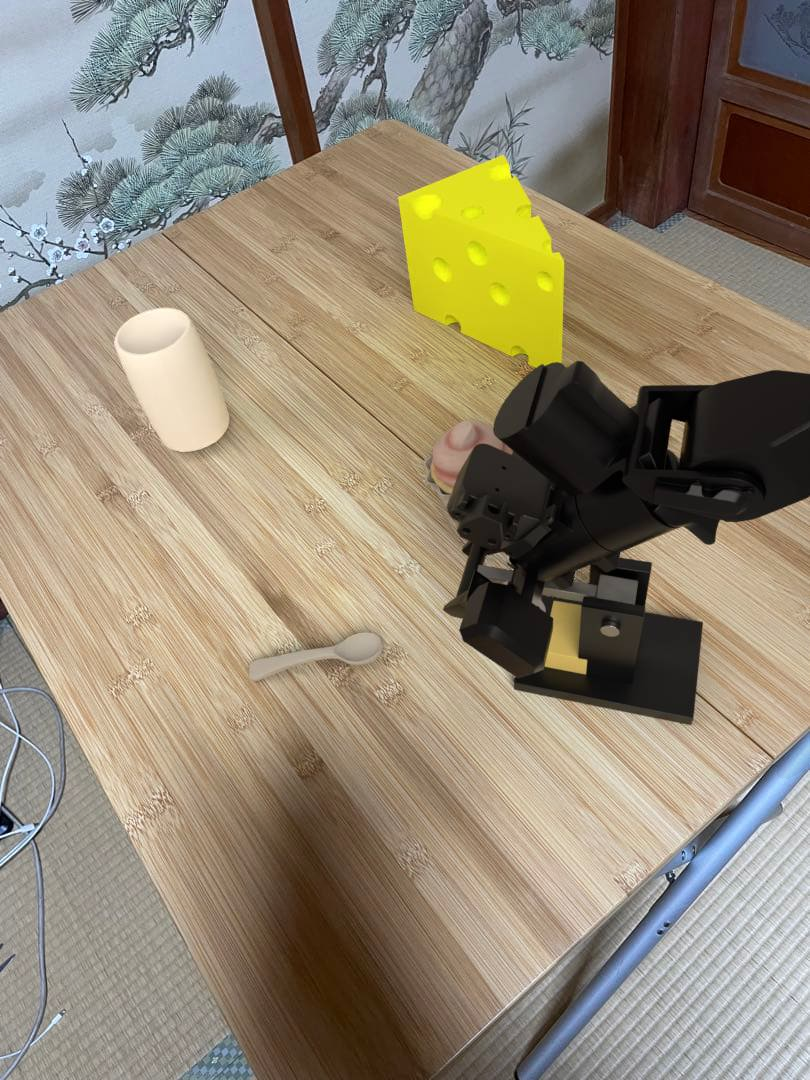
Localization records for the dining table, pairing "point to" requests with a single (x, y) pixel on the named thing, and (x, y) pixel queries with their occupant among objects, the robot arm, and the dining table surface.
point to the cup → (173, 378)
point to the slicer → (627, 655)
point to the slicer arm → (605, 589)
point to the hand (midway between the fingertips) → (457, 581)
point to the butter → (565, 638)
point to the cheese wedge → (485, 262)
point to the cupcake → (457, 454)
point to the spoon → (322, 655)
